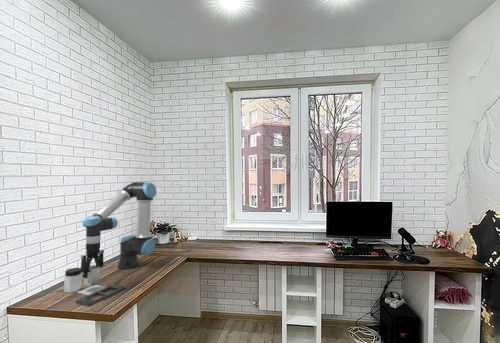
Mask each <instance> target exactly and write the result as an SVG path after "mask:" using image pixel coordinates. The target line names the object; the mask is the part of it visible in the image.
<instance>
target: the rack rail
mask: <svg viewBox="0 0 500 343" xmlns="http://www.w3.org/2000/svg"><path fill="white" fill-rule="evenodd" d="M105 287H106V288H104V289H102V290H100V291H97V292H95V293H93V294H90V295H85V296H84V297H81V298H79V299H76V300H75V304H79V305H82V306H86V307H91V306H92V305H95V304H97V303H98V302H100V301H103V300H105V299H107V298H109V297H112V296H114V295H116V294H118V293H120V292H122V291H124V290H126V286H122V285H117V284H112V285H109V286H105ZM109 290H114V291H111V292H109V293H108V292H107V293H106V291H109ZM95 296H101V297H99V298H96V299H91V298H93V297H95Z"/></svg>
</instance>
